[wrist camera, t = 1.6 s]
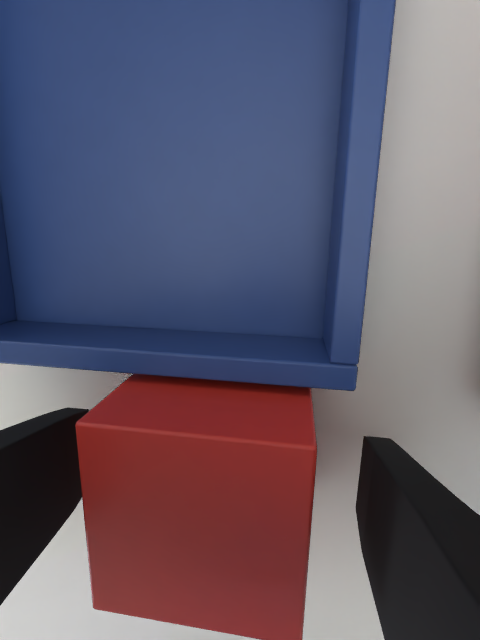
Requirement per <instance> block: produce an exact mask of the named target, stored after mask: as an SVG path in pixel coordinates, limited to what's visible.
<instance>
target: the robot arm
mask: <svg viewBox="0 0 480 640" xmlns="http://www.w3.org/2000/svg"><path fill="white" fill-rule="evenodd" d="M88 412H89V410H88V409H78V408H64V409H60V410H57V411H53V412H50V413H47V414H44V415H41V416H38V417H35V418H33V419H30V420H27V421H24V422H22V423H19V424H16V425H14V426H11V427H8V428H5V429H3V430H0V605H1V604H2V603H3V601H4V600H5V599H6V597H7V596H8V595H9V593H10V592H11V591H12V590H13V588H14V587H15V586H16V585H17V583H18V582H19V581H20V579H21V578H22V577H23V576H24V574H25V573H26V572H27V570H28V569H29V568H30V567H31V565H32V564H33V563H34V561H35V560H36V559H37V558H38V556H39V555H40V554H41V553H42V551H43V550H44V549H45V547H46V546H47V545H48V544H49V542H50V541H51V540H52V538H53V537H54V536H55V535H56V533H57V532H58V531H59V529H60V528H61V527H62V525H63V524H64V523H65V521H66V520H67V519H68V518H69V516H70V515H71V513H72V512H73V511H74V509H75V508H76V506H77V504H78V503H79V501H80V500H81V498H82V489H81V478H80V468H79V458H78V448H77V437H76V427H75V425H76V422H77V421H78V420H80V419H81V418H82V417H83V416H84V415H85V414H87V413H88ZM356 514H357V521H358V529H359V535H360V542H361V549H362V554H363V558H364V562H365V566H366V570H367V573H368V577H369V581H370V585H371V589H372V593H373V597H374V600H375V604H376V608H377V612H378V616H379V619H380V623H381V627H382V631H383V635H384V639H385V640H480V516H479V515H478V514H477V513H476V512H474V511H473V510H472V509H471V508H470V507H468V506H467V505H466V504H465V503H463V502H462V501H461V500H460V499H459V498H457V497H456V496H455V495H454V494H453V493H452V492H450V491H449V490H448V489H447V488H446V487H445V486H443V485H442V484H441V483H440V482H439V481H438V480H437V479H435V478H434V477H433V476H432V475H431V474H430V473H429V472H428V471H426V470H425V469H424V468H423V467H422V466H421V465H420V464H419V463H418V462H416V461H415V460H414V459H413V458H412V457H411V456H410V455H409V454H408V453H406V452H405V451H404V450H403V449H402V448H401V447H400V446H399V445H397V444H396V443H395V442H394V441H393V440H391V439H389V438H379V437H368V436H364V439H363V448H362V457H361V465H360V474H359V483H358V492H357V501H356Z"/></svg>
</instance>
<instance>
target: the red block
mask: <svg viewBox="0 0 480 640" xmlns="http://www.w3.org/2000/svg"><path fill="white" fill-rule="evenodd" d="M75 427H76V437H77V448H78V458H79V468H80V478H81V489H82V499H83V509H84V520H85V530H86V540H87V551H88V561H89V571H90V582H91V592H92V602H93V608H94V609H97V610H102V611H108V612H113V613H119V614H124V615H130V616H135V617H141V618H146V619H152V620H157V621H163V622H168V623H174V624H179V625H185V626H190V627H196V628H201V629H207V630H212V631H218V632H223V633H229V634H234V635H240V636H245V637H251V638H256V639H262V640H302V636H303V623H304V610H305V598H306V585H307V572H308V560H309V547H310V535H311V522H312V509H313V497H314V484H315V471H316V459H317V442H316V432H315V423H314V413H313V404H312V394H311V388H308V387H296V386H283V385H270V384H258V383H245V382H233V381H220V380H208V379H195V378H182V377H170V376H157V375H145V374H133V375H132V376H130V377H129V378H128V379H127V380H126V381H124V382H123V383H122V384H121V385H120V386H119V387H117V388H116V389H115V390H114V391H113V392H111V393H110V394H109V395H108V396H107V397H106V398H104V399H103V400H102V401H101V402H100V403H98V404H97V405H96V406H95V407H94V408H93V409H91V410H90V411H89V412H88V413H87V414H85V415H84V416H83V417H82V418H81V419H80V420H78V421H77V422H76V425H75Z"/></svg>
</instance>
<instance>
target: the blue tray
mask: <svg viewBox="0 0 480 640" xmlns="http://www.w3.org/2000/svg"><path fill="white" fill-rule="evenodd" d="M395 4H396V0H0V363H6V364H19V365H31V366H44V367H57V368H69V369H82V370H94V371H107V372H120V373H132V374H145V375H157V376H170V377H182V378H195V379H208V380H220V381H233V382H245V383H258V384H270V385H283V386H296V387H308V388H321V389H333V390H346V391H354V390H355V389H356V382H357V372H358V367H357V364H358V362H359V354H360V344H361V334H362V324H363V315H364V305H365V295H366V286H367V276H368V266H369V256H370V247H371V237H372V227H373V218H374V208H375V198H376V189H377V179H378V169H379V159H380V150H381V140H382V130H383V121H384V111H385V101H386V91H387V82H388V72H389V62H390V53H391V43H392V33H393V23H394V14H395Z"/></svg>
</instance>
